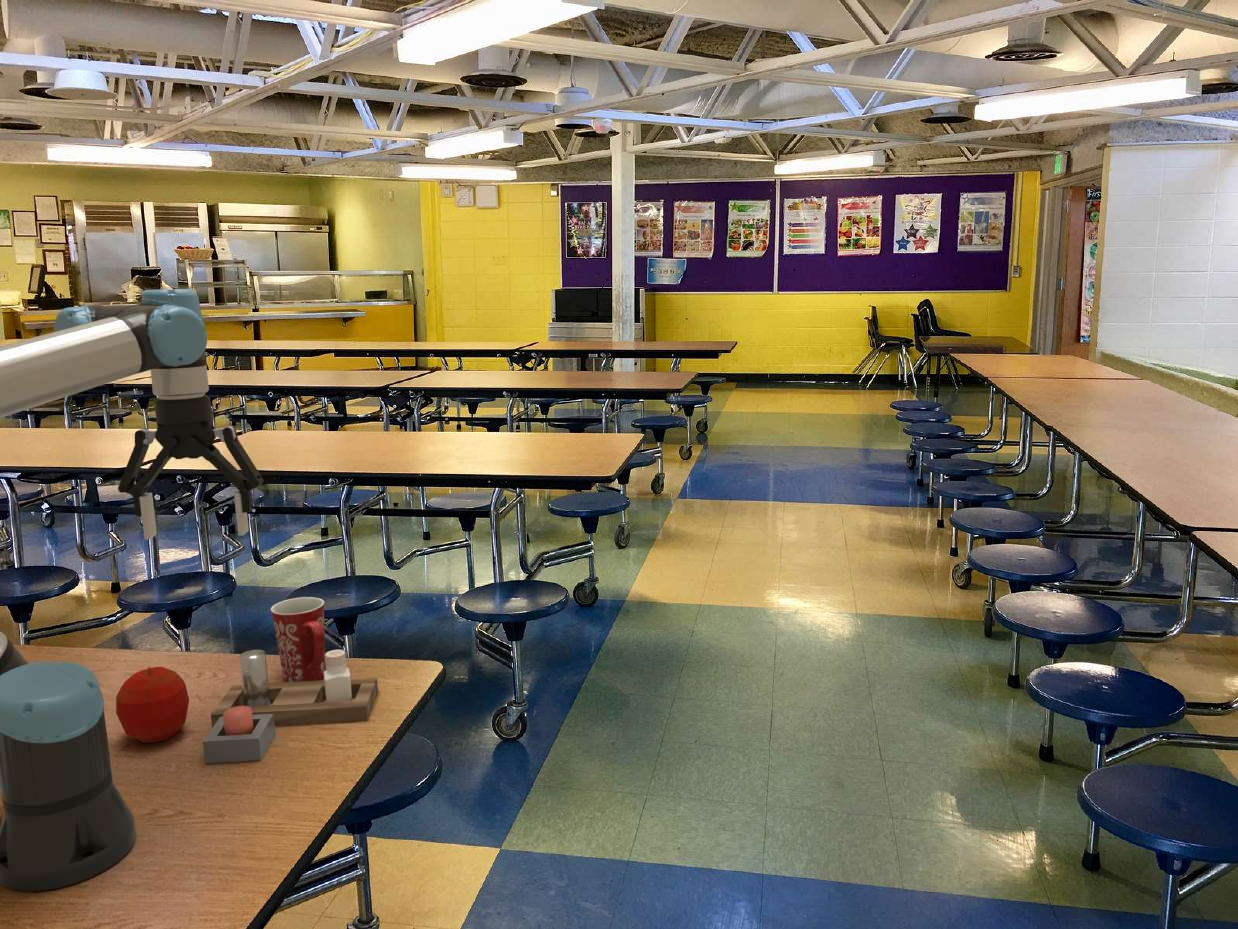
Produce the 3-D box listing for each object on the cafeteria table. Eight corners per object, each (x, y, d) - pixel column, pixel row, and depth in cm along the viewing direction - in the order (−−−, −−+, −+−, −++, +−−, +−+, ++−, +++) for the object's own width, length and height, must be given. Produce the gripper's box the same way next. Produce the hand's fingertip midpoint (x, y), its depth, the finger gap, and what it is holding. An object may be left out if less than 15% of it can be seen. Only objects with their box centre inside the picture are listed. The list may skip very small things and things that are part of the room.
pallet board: (367, 720, 151) (365, 706, 151) (212, 729, 149) (210, 714, 149) (378, 691, 162) (377, 677, 161) (234, 699, 160) (232, 685, 159)
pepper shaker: (353, 710, 155) (348, 655, 153) (327, 714, 154) (322, 659, 152) (351, 700, 159) (346, 647, 157) (326, 704, 157) (321, 650, 155)
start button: (250, 748, 141) (247, 717, 140) (222, 750, 141) (219, 718, 140) (258, 735, 145) (254, 705, 144) (231, 737, 144) (227, 706, 143)
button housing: (261, 760, 139) (258, 738, 139) (205, 763, 139) (202, 741, 138) (275, 734, 147) (273, 713, 146) (222, 737, 146) (220, 716, 146)
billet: (267, 716, 153) (261, 658, 151) (241, 718, 153) (235, 660, 151) (273, 705, 157) (268, 649, 155) (249, 707, 157) (243, 650, 155)
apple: (167, 715, 154) (159, 649, 152) (206, 729, 149) (198, 661, 147) (107, 742, 146) (97, 672, 144) (146, 757, 141) (137, 685, 138)
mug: (269, 676, 169) (262, 604, 166) (318, 662, 175) (312, 593, 172) (297, 699, 159) (290, 623, 157) (347, 684, 165) (341, 610, 162)
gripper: (275, 390, 143) (288, 525, 148) (104, 394, 141) (122, 532, 146) (261, 396, 136) (275, 538, 140) (81, 401, 134) (100, 545, 138)
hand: (197, 535), depth 143 cm, fingers open, 13 cm apart
